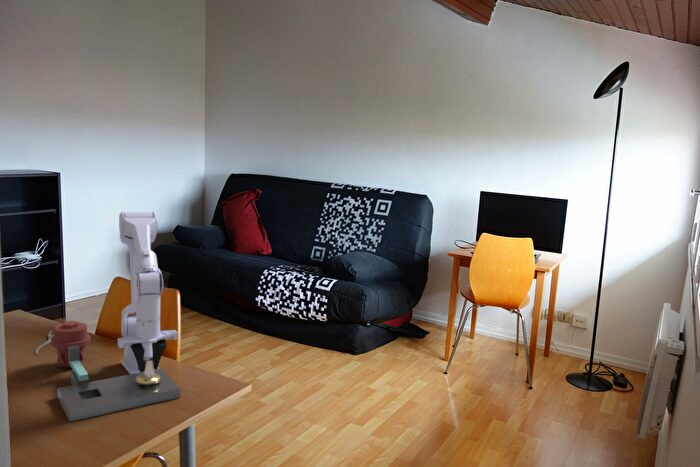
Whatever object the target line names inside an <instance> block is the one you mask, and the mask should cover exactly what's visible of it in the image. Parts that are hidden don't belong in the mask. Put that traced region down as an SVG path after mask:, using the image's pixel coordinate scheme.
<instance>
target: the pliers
mask: <svg viewBox="0 0 700 467" xmlns="http://www.w3.org/2000/svg"><path fill="white" fill-rule="evenodd" d="M53 336H54V332H52V330H49V332H48V333H47V340H46V341H44V342H43V343H42V344H40V345H39V346H37V347H36V348H35V351H34V352H35V355H36V356H39V353H38V351H39V350H40V349H41V348H43V347H45V346H47V345H49V344H51V338H52V337H53Z"/></svg>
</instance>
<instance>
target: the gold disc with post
mask: <svg viewBox="0 0 700 467" xmlns="http://www.w3.org/2000/svg"><path fill="white" fill-rule="evenodd" d="M159 381H160V375H159V374H156V373H154V358H153V357H144V371H143V372H142V374H140V375H138V376H137V377H136V383H138V384H141V385H142V388H144V387H149V386H154V384H155V383H157V382H159Z"/></svg>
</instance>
